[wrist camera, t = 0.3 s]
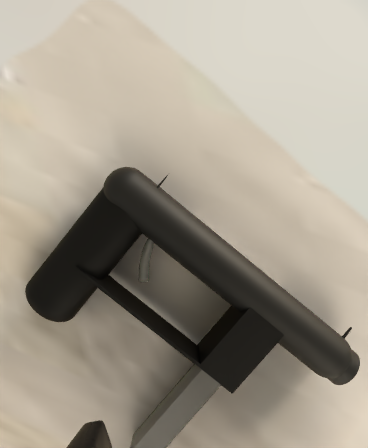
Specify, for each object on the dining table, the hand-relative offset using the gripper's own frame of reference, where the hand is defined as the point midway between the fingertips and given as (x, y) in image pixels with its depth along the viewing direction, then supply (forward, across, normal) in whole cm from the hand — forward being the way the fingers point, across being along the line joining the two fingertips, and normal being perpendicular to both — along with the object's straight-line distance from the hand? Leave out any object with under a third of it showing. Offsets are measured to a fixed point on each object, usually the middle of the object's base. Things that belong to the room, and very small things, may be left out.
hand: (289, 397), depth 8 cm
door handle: (+14, +4, +7) cm, 16 cm away
